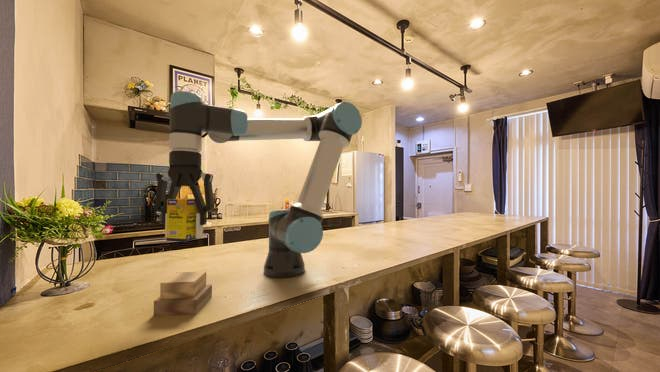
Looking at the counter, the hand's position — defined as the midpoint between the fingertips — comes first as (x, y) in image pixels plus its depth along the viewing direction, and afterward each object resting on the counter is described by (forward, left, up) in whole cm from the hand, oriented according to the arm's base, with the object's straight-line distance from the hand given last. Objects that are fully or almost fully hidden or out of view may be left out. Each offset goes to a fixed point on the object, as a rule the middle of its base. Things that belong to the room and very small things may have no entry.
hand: (184, 237), depth 68 cm
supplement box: (0, 0, -1) cm, 1 cm away
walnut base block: (-1, 0, -18) cm, 18 cm away
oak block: (0, 0, -14) cm, 14 cm away
